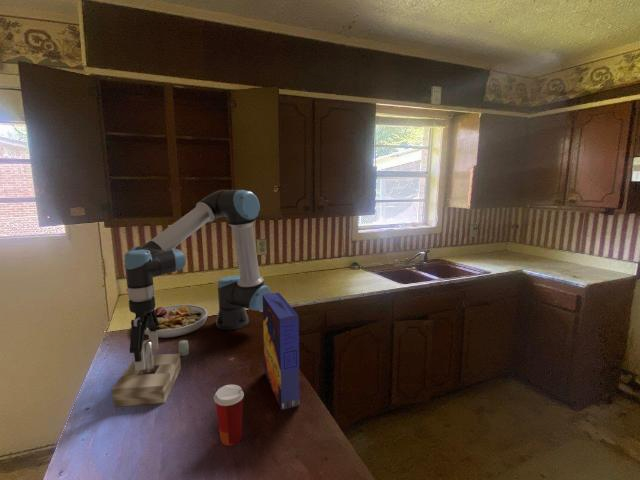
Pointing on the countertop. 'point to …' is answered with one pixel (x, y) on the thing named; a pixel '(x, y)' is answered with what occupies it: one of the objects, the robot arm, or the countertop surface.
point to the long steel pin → (148, 357)
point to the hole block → (147, 382)
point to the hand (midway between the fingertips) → (147, 358)
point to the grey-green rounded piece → (183, 348)
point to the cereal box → (281, 349)
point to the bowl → (179, 320)
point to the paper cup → (229, 413)
